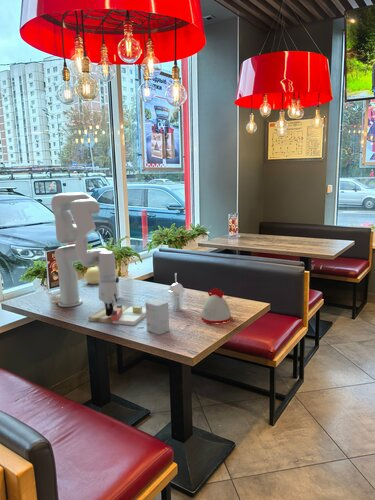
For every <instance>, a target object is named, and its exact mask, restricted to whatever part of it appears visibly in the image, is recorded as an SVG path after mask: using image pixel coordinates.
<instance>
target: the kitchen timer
mask: <svg viewBox="0 0 375 500" xmlns="http://www.w3.org/2000/svg"><path fill="white" fill-rule="evenodd" d="M207 294H208V296H209V297H207V299H206V300H205V301H204V304H203V306H202V309H201V314H200V317H201V319H202V320H203V321H204V322H203V321H202V320H201V321H202V322H203V323H205V322H207V323H206V324H208V323H223V322H227V321H229V320H230V319H231V320H232V314H231V310H230V306H229V304H228V302H227V300H225V298H224V297H223V296H224V294H225V291H223V292H222V289H221V288H220V289H219V288H216V287H213V289H212V288H211V289H210V291H207ZM231 320H230V321H231ZM230 321H229V322H230ZM227 323H228V322H227Z"/></svg>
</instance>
